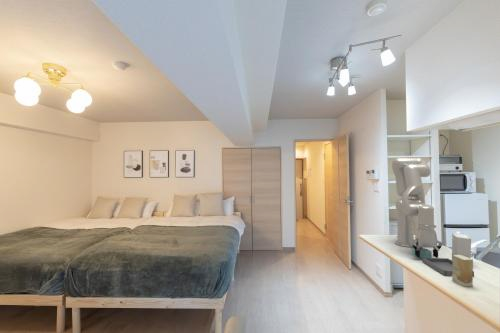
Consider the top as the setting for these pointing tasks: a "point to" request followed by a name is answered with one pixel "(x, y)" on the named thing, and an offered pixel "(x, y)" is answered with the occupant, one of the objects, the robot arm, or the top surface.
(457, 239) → the skincare box
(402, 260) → the top surface
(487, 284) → the top surface
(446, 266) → the tray
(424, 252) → the teal magnifying glass
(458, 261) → the skincare box
